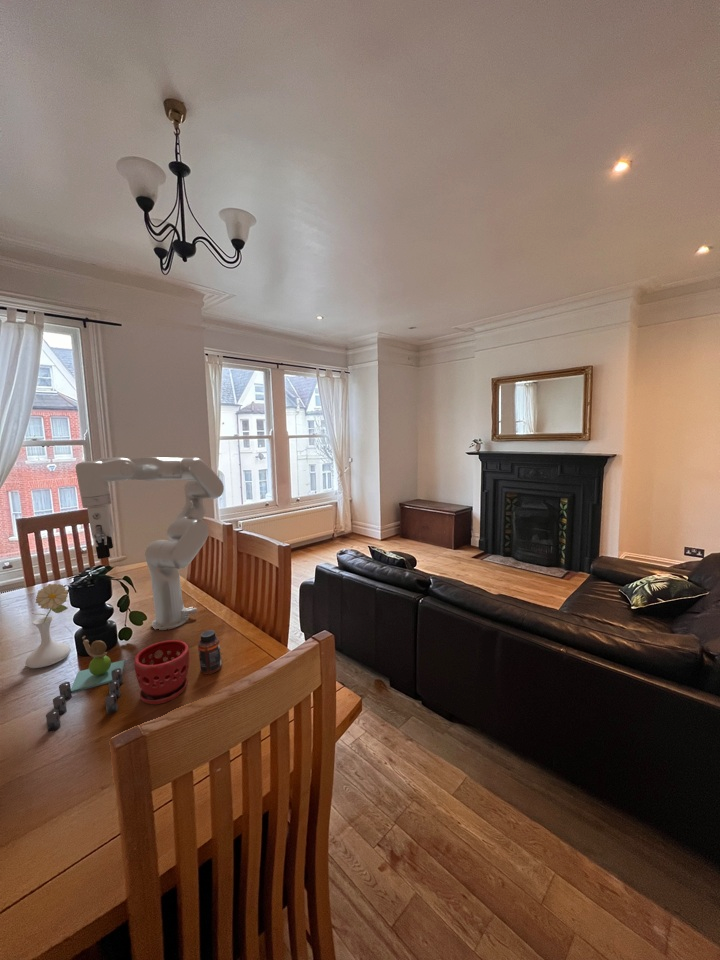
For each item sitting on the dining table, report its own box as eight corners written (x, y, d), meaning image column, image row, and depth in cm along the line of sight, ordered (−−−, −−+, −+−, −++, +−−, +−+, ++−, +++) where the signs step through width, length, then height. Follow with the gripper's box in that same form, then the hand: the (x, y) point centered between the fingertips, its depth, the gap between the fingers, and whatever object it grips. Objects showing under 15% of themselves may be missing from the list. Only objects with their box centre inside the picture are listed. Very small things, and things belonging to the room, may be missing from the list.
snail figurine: (93, 669, 116) (88, 631, 115) (115, 667, 117) (110, 630, 115) (82, 680, 111) (76, 641, 109) (105, 678, 111) (100, 639, 110)
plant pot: (157, 716, 96) (151, 672, 95) (129, 698, 103) (123, 657, 102) (202, 685, 107) (198, 645, 106) (174, 671, 114) (170, 634, 113)
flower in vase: (20, 676, 115) (7, 597, 112) (32, 657, 125) (19, 584, 122) (74, 662, 121) (62, 587, 118) (80, 645, 131) (70, 575, 128)
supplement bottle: (226, 664, 117) (222, 629, 115) (212, 676, 111) (209, 640, 110) (210, 661, 119) (206, 626, 117) (196, 673, 113) (192, 637, 111)
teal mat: (124, 661, 120) (124, 659, 120) (120, 679, 112) (120, 677, 111) (78, 673, 115) (77, 671, 115) (70, 693, 106) (70, 691, 106)
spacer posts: (123, 680, 111) (121, 667, 111) (117, 712, 98) (115, 697, 98) (62, 697, 105) (60, 683, 104) (47, 733, 92) (44, 718, 92)
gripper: (107, 503, 114) (117, 558, 116) (113, 494, 129) (121, 543, 132) (77, 507, 110) (87, 564, 113) (86, 498, 125) (95, 548, 128)
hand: (105, 553), depth 122 cm, fingers open, 9 cm apart
